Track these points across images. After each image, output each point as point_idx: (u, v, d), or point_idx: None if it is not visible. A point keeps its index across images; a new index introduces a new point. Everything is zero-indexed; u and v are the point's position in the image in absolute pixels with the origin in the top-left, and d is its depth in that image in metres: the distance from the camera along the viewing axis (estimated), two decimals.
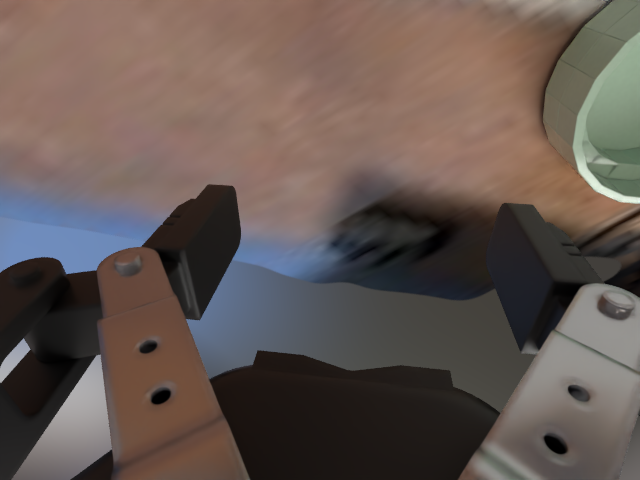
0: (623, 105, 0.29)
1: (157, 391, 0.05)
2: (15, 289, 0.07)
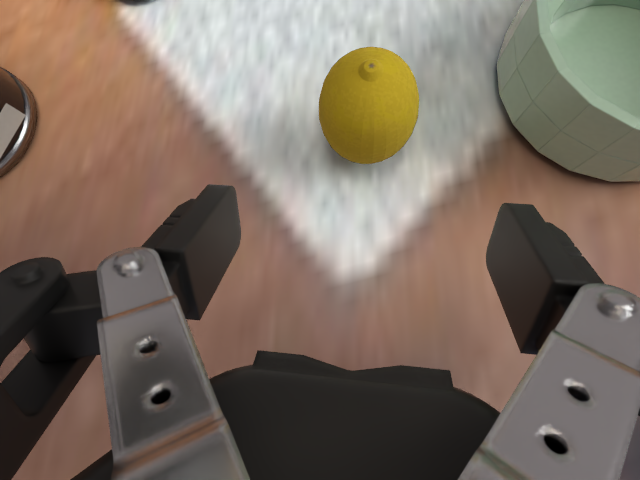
0: (630, 99, 0.24)
1: (157, 391, 0.05)
2: (14, 289, 0.07)
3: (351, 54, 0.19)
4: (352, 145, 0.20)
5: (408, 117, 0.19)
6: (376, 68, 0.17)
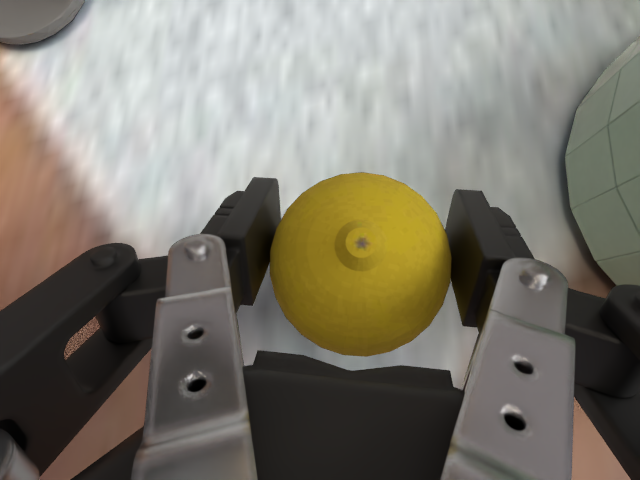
0: None
1: (194, 378, 0.05)
2: (91, 271, 0.08)
3: (323, 197, 0.09)
4: (328, 348, 0.11)
5: (433, 314, 0.10)
6: (372, 249, 0.08)
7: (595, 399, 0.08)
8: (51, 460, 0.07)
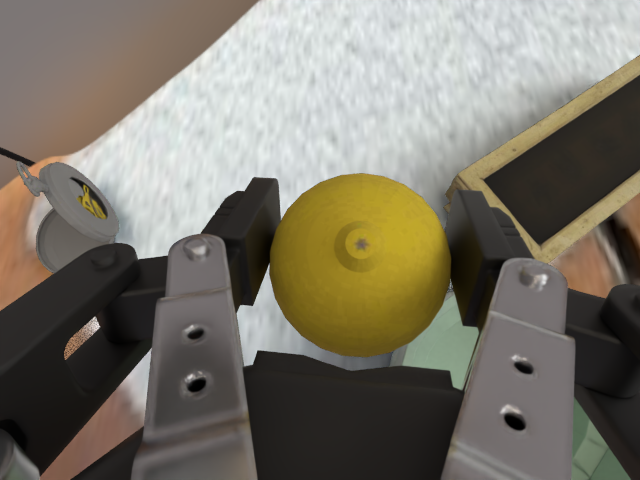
0: None
1: (194, 379, 0.05)
2: (91, 271, 0.08)
3: (323, 198, 0.09)
4: (327, 349, 0.11)
5: (433, 315, 0.10)
6: (371, 250, 0.08)
7: (595, 399, 0.08)
8: (51, 460, 0.07)
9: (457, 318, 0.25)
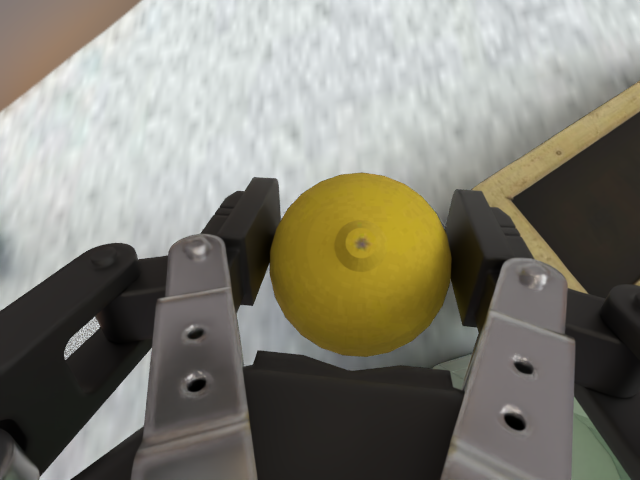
0: None
1: (195, 378, 0.05)
2: (91, 271, 0.08)
3: (323, 197, 0.09)
4: (328, 349, 0.11)
5: (433, 314, 0.10)
6: (372, 249, 0.08)
7: (595, 399, 0.08)
8: (51, 460, 0.07)
9: None
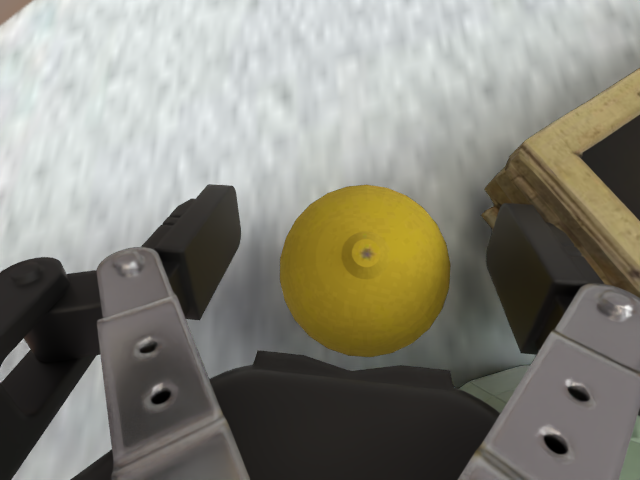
0: None
1: (157, 391, 0.05)
2: (15, 289, 0.07)
3: (331, 209, 0.10)
4: (334, 349, 0.12)
5: (433, 318, 0.11)
6: (376, 259, 0.09)
7: None
8: None
9: None
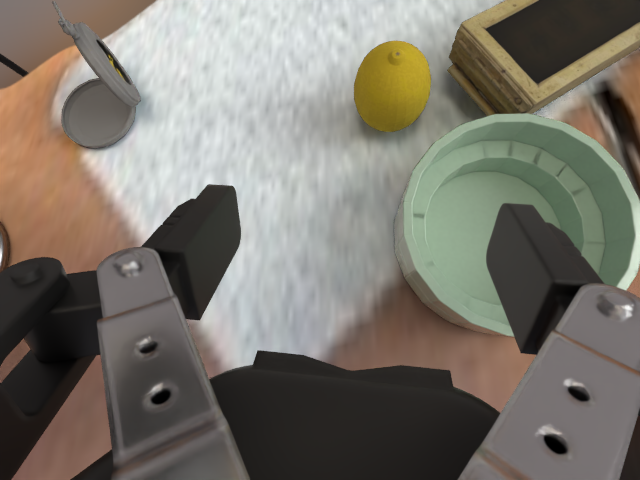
0: None
1: (157, 391, 0.05)
2: (15, 289, 0.07)
3: (381, 46, 0.25)
4: (380, 114, 0.27)
5: (422, 93, 0.26)
6: (401, 55, 0.24)
7: None
8: None
9: (459, 164, 0.27)
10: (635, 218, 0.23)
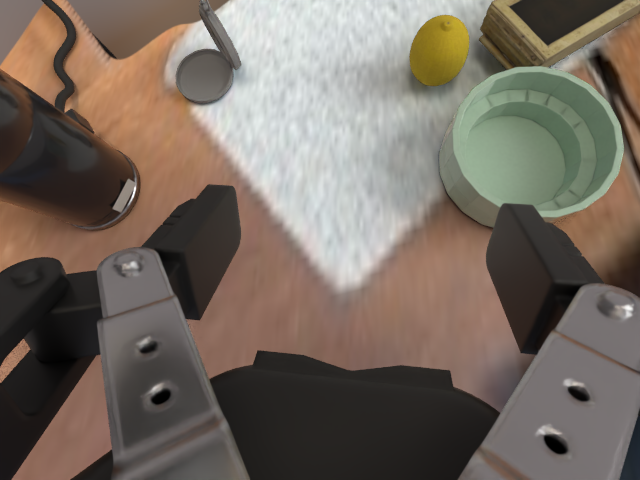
0: (520, 178, 0.38)
1: (157, 391, 0.05)
2: (14, 289, 0.07)
3: (434, 18, 0.35)
4: (432, 69, 0.36)
5: (464, 53, 0.35)
6: (450, 24, 0.34)
7: None
8: None
9: (489, 106, 0.37)
10: (617, 136, 0.32)
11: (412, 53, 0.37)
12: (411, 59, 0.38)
